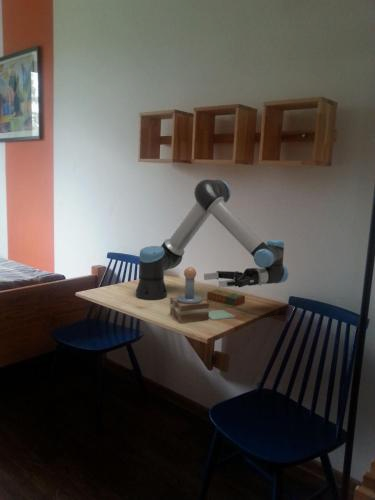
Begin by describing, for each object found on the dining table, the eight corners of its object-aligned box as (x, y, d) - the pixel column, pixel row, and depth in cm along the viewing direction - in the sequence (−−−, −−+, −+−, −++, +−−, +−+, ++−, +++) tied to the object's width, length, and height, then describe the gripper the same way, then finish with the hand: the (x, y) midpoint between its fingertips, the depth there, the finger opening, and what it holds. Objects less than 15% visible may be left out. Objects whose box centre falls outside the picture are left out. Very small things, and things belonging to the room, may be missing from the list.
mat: (202, 312, 179) (202, 312, 179) (222, 310, 183) (223, 309, 183) (212, 320, 170) (212, 319, 170) (234, 317, 174) (234, 316, 174)
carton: (216, 297, 206) (217, 288, 205) (245, 303, 196) (245, 294, 195) (206, 300, 199) (207, 291, 198) (235, 307, 189) (235, 298, 189)
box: (169, 314, 177) (170, 297, 176) (196, 311, 182) (196, 295, 180) (180, 323, 166) (181, 306, 165) (208, 320, 171) (209, 303, 169)
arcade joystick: (173, 298, 175) (174, 265, 173) (195, 296, 179) (196, 264, 177) (182, 305, 166) (183, 270, 164) (205, 302, 170) (206, 268, 168)
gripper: (271, 291, 173) (225, 296, 164) (240, 278, 195) (198, 282, 187) (272, 274, 172) (226, 278, 163) (240, 262, 194) (199, 265, 186)
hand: (211, 280), depth 175 cm, fingers open, 13 cm apart
